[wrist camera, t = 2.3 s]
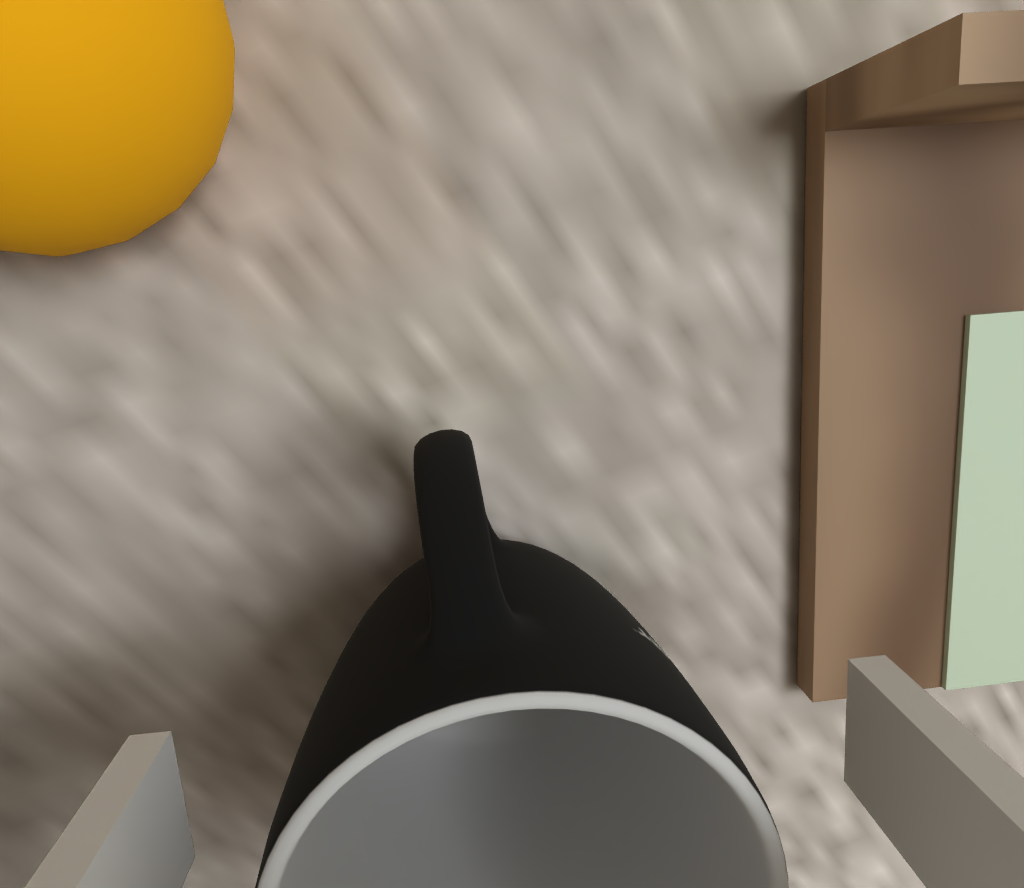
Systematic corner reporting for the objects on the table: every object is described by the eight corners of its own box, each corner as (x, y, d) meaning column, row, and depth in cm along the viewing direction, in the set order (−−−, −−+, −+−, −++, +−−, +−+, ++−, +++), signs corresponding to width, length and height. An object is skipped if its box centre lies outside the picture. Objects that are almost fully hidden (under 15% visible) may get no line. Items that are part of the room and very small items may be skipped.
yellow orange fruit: (5, -190, 17) (-322, -537, 10) (326, 31, 18) (254, -124, 11) (-146, 136, 18) (-543, 47, 11) (168, 317, 20) (10, 348, 12)
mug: (655, 745, 24) (813, 1085, 14) (366, 806, 23) (316, 1205, 13) (602, 362, 21) (752, 446, 11) (271, 422, 20) (118, 567, 10)
